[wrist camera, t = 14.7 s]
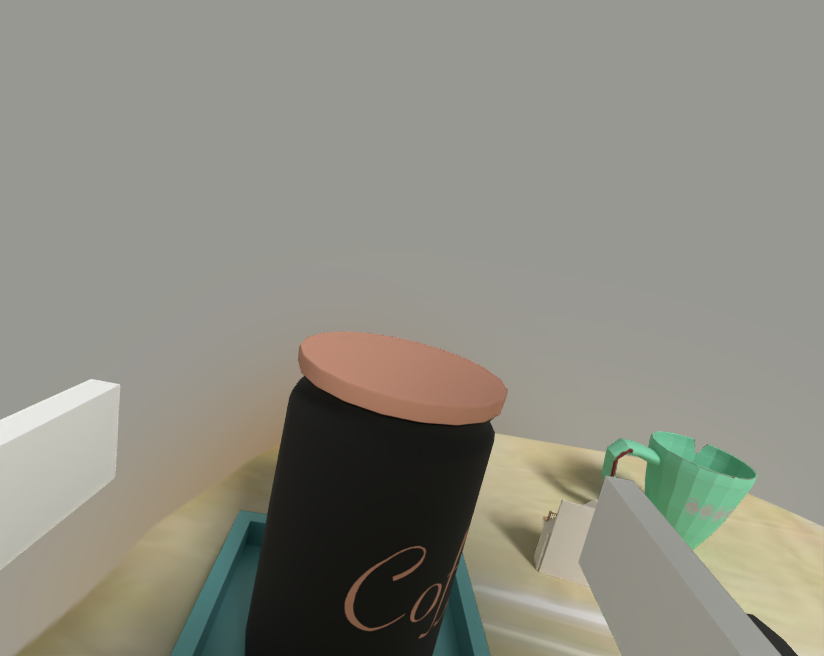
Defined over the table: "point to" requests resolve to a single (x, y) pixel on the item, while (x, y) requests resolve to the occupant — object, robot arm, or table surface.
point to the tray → (233, 586)
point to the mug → (687, 482)
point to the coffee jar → (371, 497)
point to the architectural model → (564, 541)
